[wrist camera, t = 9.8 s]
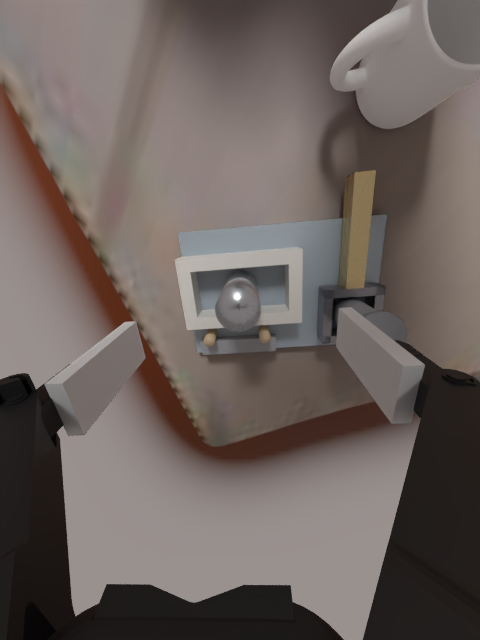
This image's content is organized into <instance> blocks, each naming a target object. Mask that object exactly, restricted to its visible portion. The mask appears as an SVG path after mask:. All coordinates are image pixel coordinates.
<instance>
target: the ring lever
mask: <svg viewBox="0 0 480 640" xmlns="http://www.w3.org/2000/svg"><path fill="white" fill-rule="evenodd" d="M375 176H376V170H371V171H361V172H354V173H352V174H351V175H349V176H347V177H345V191H344V207H343V222H342V238H341V254H340V269H339V285H327V286H319V296H318V325H317V336H318V338H319V340H320V341H321V343H322V344H329V343H336V339H337V328H331V327H332V309H333V298H347V297H361V296H365V304H367V305H368V306H370V307H372V308H373V309H375V310H377V311H383V304H384V296H385V289H386V286H384V285H381V284H379V283H376V282H368V283H365V274H366V264H367V254H368V244H369V235H370V225H371V215H372V205H373V196H374V186H375Z"/></svg>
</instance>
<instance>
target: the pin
mask: <svg viewBox="0 0 480 640" xmlns="http://www.w3.org/2000/svg"><path fill="white" fill-rule="evenodd" d="M215 314H216V317H217V319H218V321H219V322H220V324H221V325H222V326H223V327H225V328H226V329H228V330H231V331H236V332H241V331H246V330H248V329H250V328H252V327H253V326H254V325H255V324H256V323H257V322H258V320H259V318H260V314H261V306H260V300H259V293H258V287H257V282H256V279H255V277H254V276H253V275H252V274H251V273H249V272H247V271H236V272H234V273H232V274H231V275H230V276H229V277H228V279H227V281H226V283H225V285H224V287H223V289H222V291H221V293H220V295H219V298H218V300H217V302H216V305H215Z"/></svg>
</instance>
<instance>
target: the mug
mask: <svg viewBox="0 0 480 640" xmlns="http://www.w3.org/2000/svg"><path fill="white" fill-rule="evenodd" d="M361 59H362V60H361ZM360 60H361V63H360V66H359V69H355V70H350V69H351V68H352V67H353V66H354V65H355V64H356V63H357V62H359V61H360ZM349 70H350V71H349ZM478 78H480V0H397V2H396V3H395V5H394V7H393V8H392V10H391V11H390V13H389V14H387V15H385V16H383V17H382V18H380V19H378V20H377V21H375V22H373V23H372V24H370V25H369V26H368V27H366V28H365V29H364V30H362V31H361V32H360V33H359V34H358V35H357V36H355V37H354V38H353V39H352V40H351V41H350V42H349V43H348V44H347V46H346V47H345V48H344V49H343V50H342V51H341V53H340V54H339V55H338V57H337V58H336V60H335V62H334V64H333V66H332V69H331V72H330V83H331V86H332V87H333V88H334V89H335V90H337V91H341V92H348V91H355V90H356V98H357V103H358V106H359V109H360V111H361V113H362V114H363V116H364V117H365V118H366V120H367V121H368V122H370V123H371V124H373V125H374V126H376V127H379V128H383V129H394V128H399V127H402V126H405V125H407V124H409V123H411V122H413V121H414V120H416V119H418V118H419V117H421V116H423V115H424V114H426V113H427V112H429V111H430V110H432V109H433V108H435V107H436V106H438V105H439V104H441V103H442V102H444V101H445V100H447V99H448V98H450V97H451V96H453V95H454V94H456V93H457V92H459V91H460V90H462V89H463V88H465V87H466V86H468V85H469V84H471V83H472V82H474V81H475V80H477V79H478Z"/></svg>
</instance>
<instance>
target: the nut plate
mask: <svg viewBox="0 0 480 640" xmlns="http://www.w3.org/2000/svg"><path fill="white" fill-rule="evenodd" d="M386 220H387V214H383V215H372V216H371V225H370V235H369V244H368V254H367V264H366V274H365V283H368V282H376V283H379V276H380V268H381V260H382V252H383V244H384V236H385V228H386ZM342 222H343V218H339V219H328V220H317V221H305V222H294V223H283V224H272V225H261V226H250V227H239V228H227V229H216V230H205V231H194V232H183V233H178V237H179V243H180V249H181V255H182V257H180V258H177V259H175V264H176V270H177V275H178V281H179V287H180V293H181V298H182V304H183V310H184V315H185V321H186V327H187V330H194V334H195V340H196V346H197V352H198V353H199V352H202V353H203V355H213V354H230V353H247V352H264V351H276V348H284V347H301V346H317V345H334V344H336V343H329V344H322V343H321V341H320V340H319V338H318V336H317V325H318V296H319V286H327V285H339V269H340V254H341V238H342ZM236 271H247V272H249V273H251V274H252V275H253V276H254V277H255V279H256V282H257V287H258V293H259V300H260V306H261V314H260V318H259V320H258V322H257V323H256V324H255V325H254V326H253V327H252V328H250V329H248V330H246V331H241V332H236V331H231V330H228V329H226V328H225V327H223V326H222V325H221V324H220V322H219V321H218V319H217V317H216V314H215V305H216V302H217V300H218V298H219V295H220V293H221V291H222V289H223V287H224V285H225V283H226V281H227V279H228V277H229V276H230V275H231V274H232V273H234V272H236ZM347 307H352V308H353V309H354V310H356V311H357V312H358V313H359V314H361V315H362V316H363V317H364V318H366V319H367V320H368V321H370V322H371V323H372V324H373V325H375V326H376V327H377V328H378V329H380V330H381V331H382V332H384V333H385V334H386V335H387V336H389V337H390V338H391V339H393V340H399V341H402V342H404V343H405V340H406V337H407V329H406V326H405V324H404V322H403V321H402V320H401V319H400V318H399V317H397V316H396V315H394V314H392V313H390V312H387V311H377V310H375V309H373V308H372V307H370V306H368V305H367V304H365V296H361V297H347V298H333V309H332V327H331V328H337V325H338V311H339V308H347Z"/></svg>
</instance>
